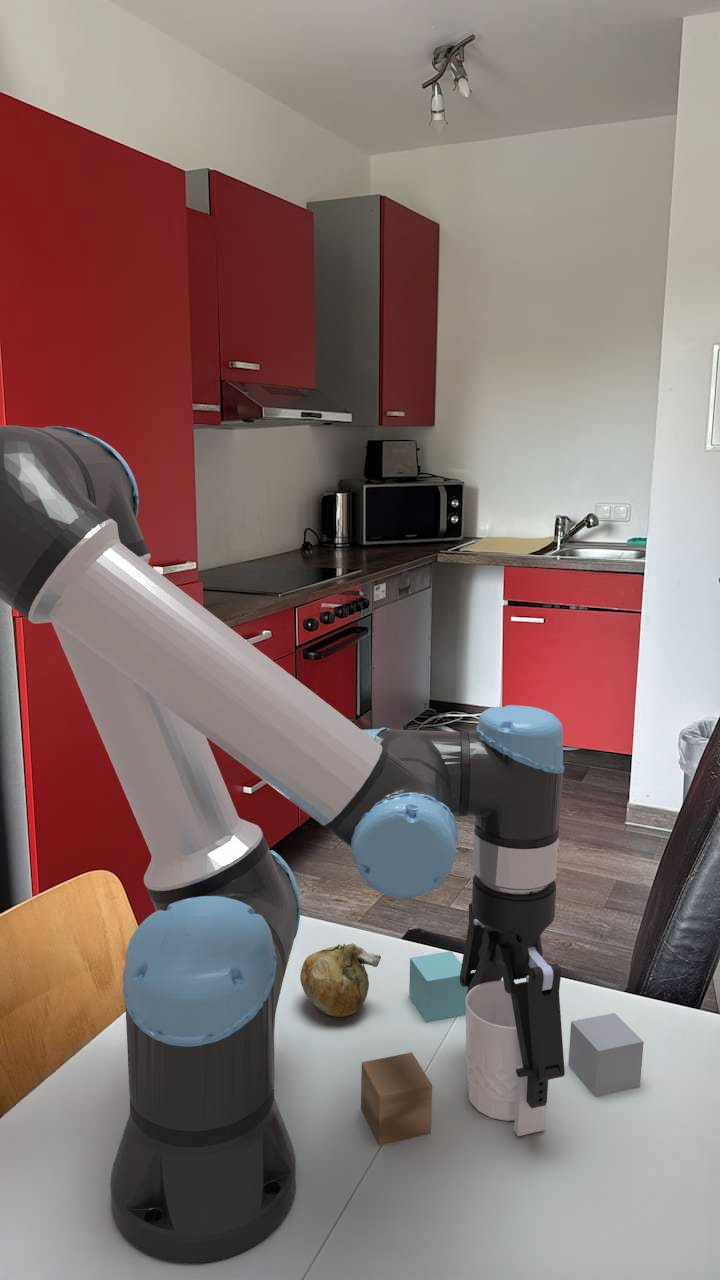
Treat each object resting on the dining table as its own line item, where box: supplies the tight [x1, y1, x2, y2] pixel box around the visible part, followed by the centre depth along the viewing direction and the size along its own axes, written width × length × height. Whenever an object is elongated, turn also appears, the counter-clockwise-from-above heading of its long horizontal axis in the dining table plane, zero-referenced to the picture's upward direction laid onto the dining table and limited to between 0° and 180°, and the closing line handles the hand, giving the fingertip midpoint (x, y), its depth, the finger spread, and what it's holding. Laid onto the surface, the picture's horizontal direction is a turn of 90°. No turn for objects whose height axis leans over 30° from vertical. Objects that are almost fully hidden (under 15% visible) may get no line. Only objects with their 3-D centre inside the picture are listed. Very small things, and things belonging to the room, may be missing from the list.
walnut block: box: [360, 1052, 433, 1146], centre depth 87 cm, size 5×5×5 cm
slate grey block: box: [568, 1012, 645, 1098], centre depth 94 cm, size 5×5×5 cm
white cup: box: [465, 979, 523, 1122], centre depth 90 cm, size 8×8×10 cm
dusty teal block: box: [408, 950, 468, 1023], centre depth 106 cm, size 5×5×5 cm
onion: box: [299, 942, 382, 1018], centre depth 105 cm, size 8×8×8 cm
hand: (504, 1095), depth 91 cm, fingers open, 9 cm apart
